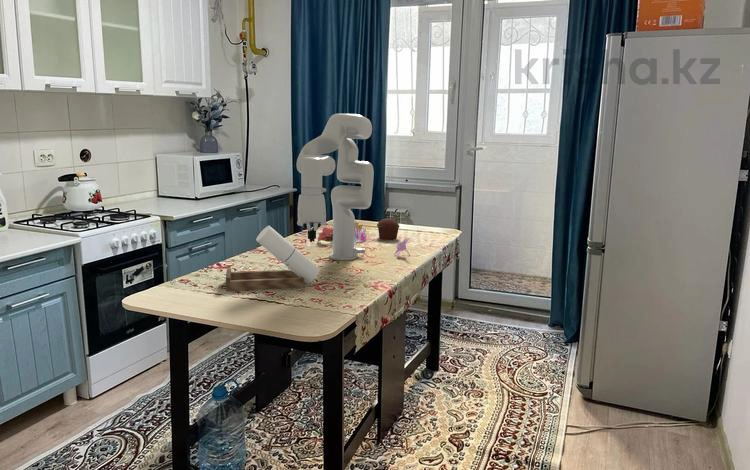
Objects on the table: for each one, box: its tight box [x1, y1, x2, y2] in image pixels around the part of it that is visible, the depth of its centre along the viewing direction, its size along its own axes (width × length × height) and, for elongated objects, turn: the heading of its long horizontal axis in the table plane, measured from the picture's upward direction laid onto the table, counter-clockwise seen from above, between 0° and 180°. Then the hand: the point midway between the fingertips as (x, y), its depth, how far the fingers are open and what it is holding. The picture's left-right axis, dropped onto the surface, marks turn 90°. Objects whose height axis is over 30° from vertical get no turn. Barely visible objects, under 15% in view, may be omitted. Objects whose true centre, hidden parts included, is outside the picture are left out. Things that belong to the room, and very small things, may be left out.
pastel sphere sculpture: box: [317, 220, 367, 247], centre depth 278 cm, size 25×24×9 cm
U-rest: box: [225, 267, 305, 292], centre depth 208 cm, size 28×12×5 cm, turn 102°
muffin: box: [376, 217, 400, 241], centre depth 284 cm, size 12×11×10 cm
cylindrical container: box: [255, 225, 321, 284], centre depth 207 cm, size 7×7×25 cm
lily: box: [393, 236, 411, 259], centre depth 251 cm, size 11×11×9 cm
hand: (311, 240), depth 208 cm, fingers closed
